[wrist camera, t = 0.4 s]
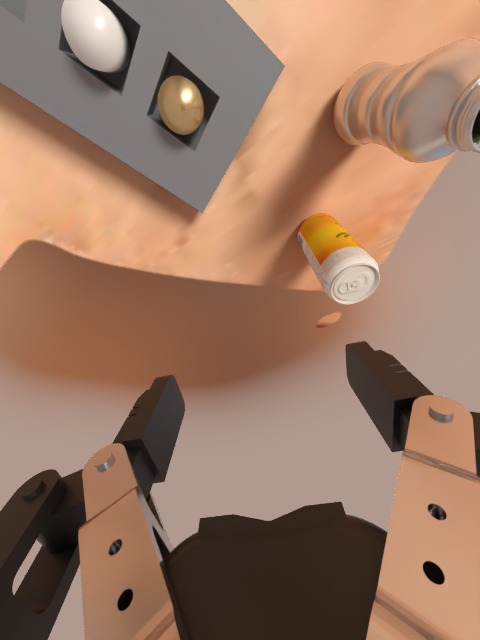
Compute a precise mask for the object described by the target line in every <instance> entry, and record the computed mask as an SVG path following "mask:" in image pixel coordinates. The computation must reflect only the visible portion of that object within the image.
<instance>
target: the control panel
mask: <svg viewBox="0 0 480 640" xmlns="http://www.w3.org/2000/svg"><path fill="white" fill-rule="evenodd" d="M99 1H100V2H102V3H103V4H104V5H105V6H107V7H108V8H109V9H110V10H111V11H113V12H114V13H115V14H116V15H117V17H118V18H119V19H120V21H121V22H122V24H123V25H124V27H125V30H126V32H127V35H128V38H129V42H130V59H129V63H128V65H127V67H126V68H125V69H124V70H123V71H122V72H120V73H117V74H111V73H107V72H103V71H99V70H95V69H92V68H90V67H88V66H87V65H85V64H84V63H83V62H82V61H81V60H80V59H79V58H78V57H77V56H76V55H75V54H74V52H73V51H72V49H71V47H70V46H69V44H68V42H67V40H66V37H65V34H64V31H63V27H62V21H61V10H62V5H63V2H64V0H0V83H2V84H3V85H5V86H6V87H8V88H9V89H11V90H12V91H14V92H16V93H17V94H19V95H20V96H22V97H23V98H25V99H26V100H28V101H30V102H31V103H33V104H34V105H36V106H37V107H39V108H40V109H42V110H43V111H45V112H47V113H48V114H50V115H51V116H53V117H54V118H56V119H57V120H59V121H61V122H62V123H64V124H65V125H67V126H68V127H70V128H71V129H73V130H74V131H76V132H78V133H79V134H81V135H82V136H84V137H85V138H87V139H88V140H90V141H92V142H93V143H95V144H96V145H98V146H99V147H101V148H102V149H104V150H105V151H107V152H109V153H110V154H112V155H113V156H115V157H116V158H118V159H119V160H121V161H123V162H124V163H126V164H127V165H129V166H130V167H132V168H133V169H135V170H136V171H138V172H140V173H141V174H143V175H144V176H146V177H147V178H149V179H150V180H152V181H154V182H155V183H157V184H158V185H160V186H161V187H163V188H164V189H166V190H167V191H169V192H171V193H172V194H174V195H175V196H177V197H178V198H180V199H181V200H183V201H185V202H186V203H188V204H189V205H191V206H192V207H194V208H195V209H197V210H198V211H200V212H202V213H203V211H204V210H205V208H206V206H207V204H208V202H209V201H210V199H211V197H212V195H213V194H214V192H215V190H216V188H217V186H218V185H219V183H220V181H221V179H222V177H223V176H224V174H225V172H226V170H227V169H228V167H229V165H230V163H231V161H232V160H233V158H234V156H235V154H236V152H237V151H238V149H239V147H240V145H241V143H242V142H243V140H244V138H245V136H246V135H247V133H248V131H249V129H250V127H251V126H252V124H253V122H254V120H255V118H256V117H257V115H258V113H259V111H260V110H261V108H262V106H263V104H264V102H265V101H266V99H267V97H268V95H269V93H270V92H271V90H272V88H273V86H274V85H275V83H276V81H277V79H278V77H279V76H280V74H281V72H282V70H283V68H284V67H285V66H284V65H283V63H282V62H281V61H280V60H279V59H278V58H277V57H276V56H275V55H274V54H273V52H272V51H271V50H270V49H269V48H268V47H267V46H266V45H265V44H264V42H263V41H262V40H261V39H260V38H259V37H258V36H257V35H256V34H255V32H254V31H253V30H252V29H251V28H250V27H249V26H248V25H247V24H246V23H245V21H244V20H243V19H242V18H241V17H240V16H239V15H238V14H237V13H236V11H235V10H234V9H233V8H232V7H231V6H230V5H229V4H228V3H227V1H226V0H99ZM175 75H179V76H183V77H185V78H187V79H189V80H190V81H192V82H193V83H194V84H195V85H196V86H197V87H198V88H199V90H200V92H201V94H202V96H203V99H204V104H205V113H204V118H203V120H202V122H201V124H200V125H199V127H198V128H197V129H196V130H195V131H193V132H192V133H190V134H186V135H182V134H178V133H175V132H174V131H172V130H171V129H170V128H169V127H168V126H167V125H166V124H165V123H164V121H163V119H162V117H161V115H160V112H159V109H158V92H159V89H160V87H161V85H162V83H163V82H164V81H165V80H166V79H167V78H169V77H171V76H175Z"/></svg>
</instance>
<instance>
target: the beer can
mask: <svg viewBox="0 0 480 640" xmlns="http://www.w3.org/2000/svg"><path fill="white" fill-rule="evenodd" d="M298 242H299V244H300V246H301V248H302V250H303V252H304V254H305V255H306V257H307V259H308V261H309V263H310V265H311V267H312V268H313V270H314V272H315V274H316V276H317V278H318V279H319V281H320V283H321V285H322V287H323V289H324V291H325V292H326V294H327V295H328V296H329V297H330V298H331V299H334V300H335V301H337V302H338V303H342V304H353V303H357V302H359V301H362V300H364V299H365V298H367V297H368V296H369V295H371V294H372V293H373V292H374V291H375V289H376V288H377V286H378V284H379V280H380V274H379V268H378V265H377V263H376V261H375V260H374V259H373V258H372V257H371V256H370V255H369V254H368V253H367V252H366V251H365V250H364V249H363V248H362V247H361V246H360V245H359V244H358V243H357V241H356V240H355V239H354V238H353V237H352V236H351V235H350V234H349V233H348V232H347V231H346V230H345V229H344V228H343V227H342V226H341V225H340V224H339V223H338V222H337V221H336V220H335V218H334V217H332V216H331V215H329V214H326V213H319V214H315V215H313V216H311V217H309V218H308V219H307V220H305V221H304V223H303V224H302V225H301V227H300V229H299V232H298Z"/></svg>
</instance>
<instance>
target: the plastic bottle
mask: <svg viewBox="0 0 480 640" xmlns="http://www.w3.org/2000/svg"><path fill="white" fill-rule="evenodd" d="M334 124H335V128H336V131H337V132H338V134H339V136H340V137H341V138H342V139H343V140H344V141H345V142H347V143H349V144H352V145H365V144H369V143H374V144H380V145H382V146H385V147H387V148H389V149H390V150H392V151H393V152H395V153H396V154H397V155H399V156H400V157H402V158H404V159H406V160H408V161H410V162H414V163H425V162H430V161H434V160H438V159H441V158H443V157H446V156H448V155H450V154H451V153H453V152H455V151H456V150H460V151H474V152H478V153H480V40H478V39H474V38H470V39H462V40H459V41H456V42H453V43H451V44H448V45H446V46H443V47H441V48H439V49H438V50H436V51H434V52H432V53H430V54H428V55H426V56H424V57H423V58H421V59H419V60H417V61H414V62H411V63H408V64H405V65H391V64H388V63H382V62H373V63H370V64H367V65H365V66H364V67H362V68H360V69H359V70H358V71H356V72H355V73H354V74H353V75H352V76H351V77H350V78H349V79H348V80H347V81H346V82H345V84H344V85H343V87H342V89H341V90H340V92H339V95H338V97H337V100H336V103H335V108H334Z"/></svg>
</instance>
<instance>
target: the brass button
mask: <svg viewBox="0 0 480 640" xmlns="http://www.w3.org/2000/svg"><path fill="white" fill-rule="evenodd" d="M158 109H159V112H160V115H161V117H162V119H163V121H164V123H165V124H166V125H167V126H168V127H169V128H170V129H171V130H172V131H174V132H175V133H178V134H182V135H186V134H190V133H192V132H193V131H195V130H196V129H197V128H198V127H199V125H200V124H201V122H202V120H203V118H204V113H205V104H204V99H203V96H202V94H201V92H200V90H199V88H198V87H197V86H196V85H195V84H194V83H193V82H192V81H190V80H189V79H187V78H185V77H183V76H179V75H175V76H171V77H169V78H167V79H166V80H165V81H164V82H163V83H162V85H161V87H160V89H159V92H158Z"/></svg>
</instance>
